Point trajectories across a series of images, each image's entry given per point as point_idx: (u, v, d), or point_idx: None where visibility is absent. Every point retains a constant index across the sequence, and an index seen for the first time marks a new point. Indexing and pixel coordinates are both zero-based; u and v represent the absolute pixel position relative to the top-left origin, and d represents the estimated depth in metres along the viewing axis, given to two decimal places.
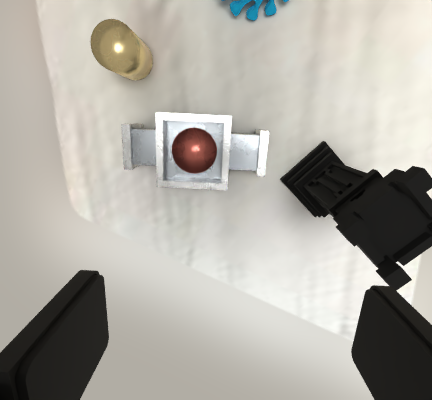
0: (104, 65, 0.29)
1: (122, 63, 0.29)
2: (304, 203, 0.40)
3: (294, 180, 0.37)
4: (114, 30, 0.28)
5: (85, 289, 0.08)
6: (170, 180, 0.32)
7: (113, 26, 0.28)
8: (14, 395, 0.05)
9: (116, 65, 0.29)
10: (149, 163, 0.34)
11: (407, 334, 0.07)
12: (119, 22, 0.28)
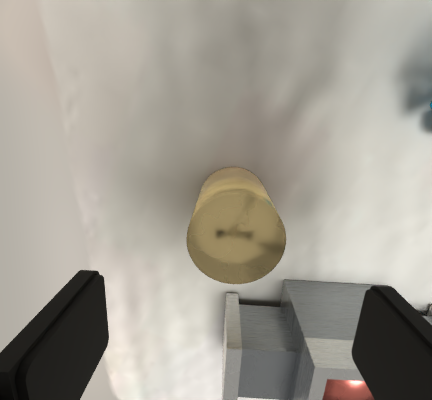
0: (211, 274, 0.14)
1: (250, 272, 0.14)
2: None
3: None
4: (243, 214, 0.13)
5: (85, 289, 0.08)
6: None
7: (240, 207, 0.13)
8: (14, 395, 0.05)
9: (237, 275, 0.14)
10: (266, 396, 0.19)
11: (407, 334, 0.07)
12: (255, 201, 0.13)
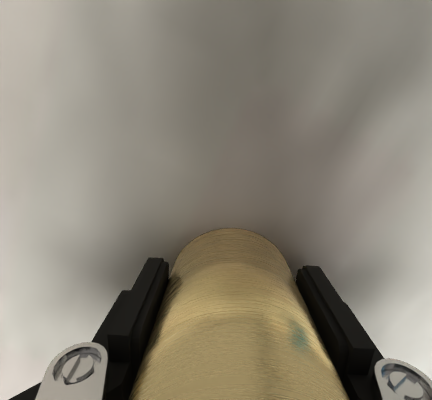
0: None
1: None
2: None
3: None
4: None
5: (159, 273, 0.09)
6: None
7: None
8: (129, 356, 0.06)
9: None
10: None
11: (317, 303, 0.08)
12: None
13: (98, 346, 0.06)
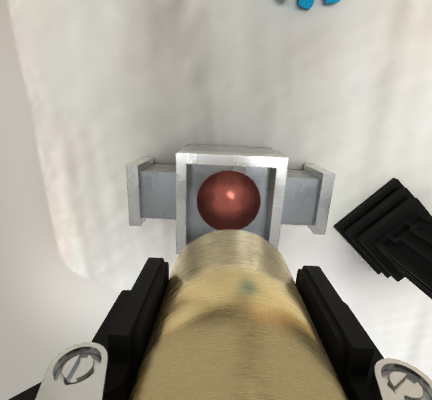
0: None
1: None
2: (365, 257, 0.30)
3: (357, 231, 0.28)
4: None
5: (159, 273, 0.09)
6: None
7: None
8: (130, 356, 0.06)
9: None
10: (164, 216, 0.25)
11: (317, 303, 0.08)
12: None
13: (98, 346, 0.06)
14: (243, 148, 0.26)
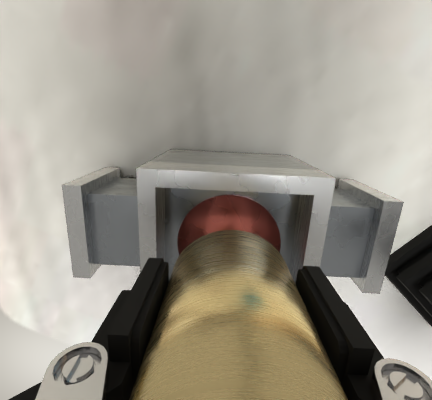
0: None
1: None
2: (420, 309, 0.22)
3: (416, 279, 0.19)
4: None
5: (159, 273, 0.09)
6: None
7: None
8: (129, 356, 0.06)
9: None
10: (129, 262, 0.16)
11: (317, 303, 0.08)
12: None
13: (98, 346, 0.06)
14: (251, 156, 0.17)
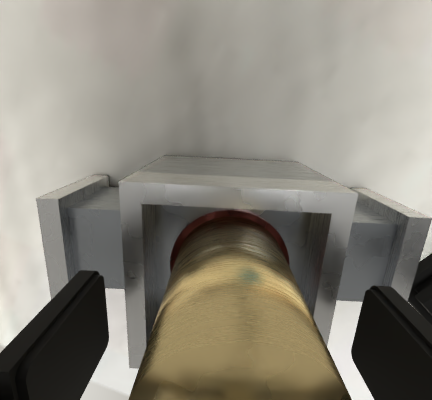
0: None
1: None
2: None
3: None
4: (256, 384, 0.05)
5: (85, 289, 0.08)
6: None
7: (250, 370, 0.05)
8: (14, 395, 0.05)
9: None
10: (116, 284, 0.14)
11: (407, 334, 0.07)
12: (287, 357, 0.05)
13: None
14: (255, 164, 0.15)
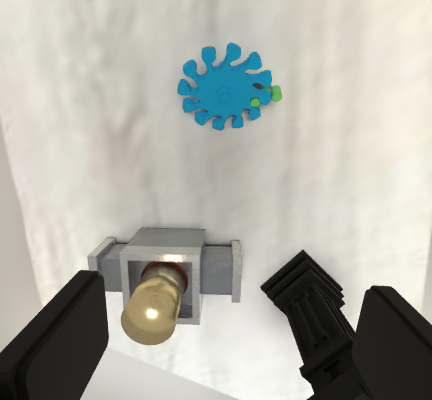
0: (136, 340, 0.25)
1: (158, 338, 0.25)
2: None
3: (274, 294, 0.35)
4: (150, 308, 0.24)
5: (85, 289, 0.08)
6: None
7: (148, 304, 0.24)
8: (14, 395, 0.05)
9: (151, 340, 0.25)
10: (119, 290, 0.33)
11: (407, 334, 0.07)
12: (155, 301, 0.24)
13: None
14: (180, 234, 0.34)
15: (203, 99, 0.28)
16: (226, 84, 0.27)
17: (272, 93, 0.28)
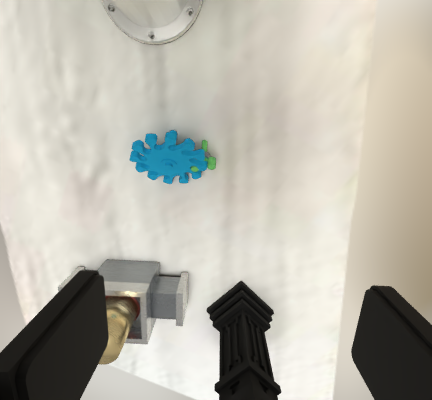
0: None
1: (107, 359, 0.32)
2: None
3: (215, 317, 0.43)
4: None
5: (85, 289, 0.08)
6: None
7: None
8: (14, 395, 0.05)
9: (101, 360, 0.32)
10: None
11: (407, 334, 0.07)
12: None
13: None
14: (137, 267, 0.41)
15: (152, 165, 0.35)
16: (168, 157, 0.33)
17: (208, 163, 0.35)
